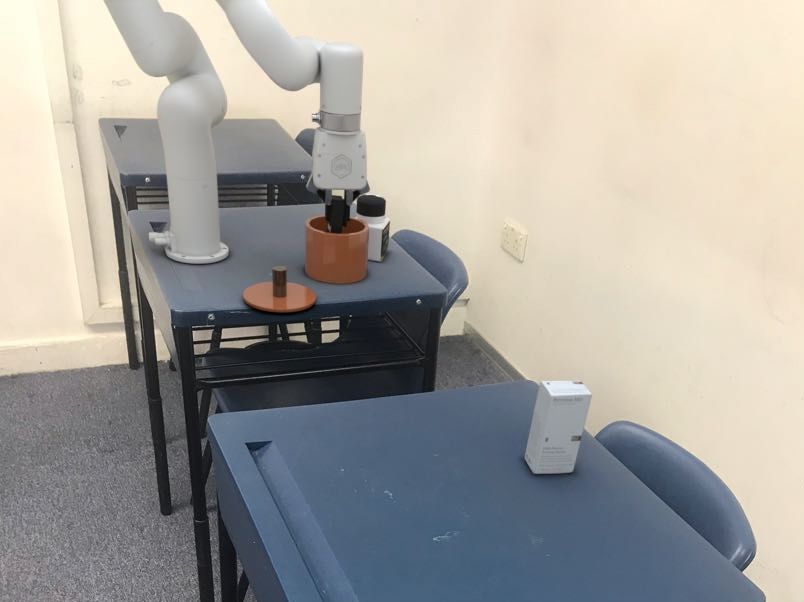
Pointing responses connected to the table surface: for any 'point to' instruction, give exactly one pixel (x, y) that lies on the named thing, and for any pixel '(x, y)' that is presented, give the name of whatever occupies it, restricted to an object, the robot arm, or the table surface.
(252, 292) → the lid
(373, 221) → the medicine bottle
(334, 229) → the ink cartridge
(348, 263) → the terracotta pot
